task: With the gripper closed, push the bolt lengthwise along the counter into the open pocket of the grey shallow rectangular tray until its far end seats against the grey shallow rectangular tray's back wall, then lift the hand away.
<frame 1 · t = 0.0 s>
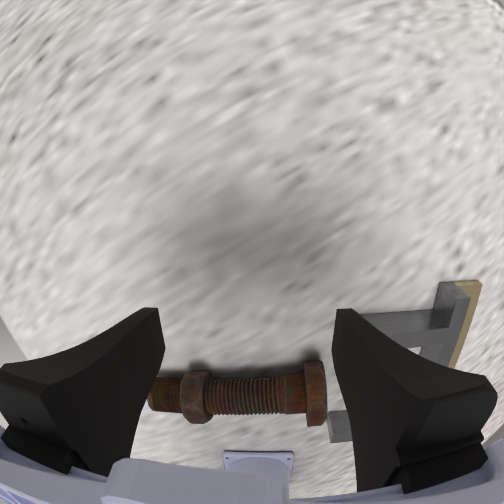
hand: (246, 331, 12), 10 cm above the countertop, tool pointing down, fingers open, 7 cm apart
grey shallow rectangular tray: (377, 372, 25), on the countertop
bolt: (235, 376, 26), on the countertop
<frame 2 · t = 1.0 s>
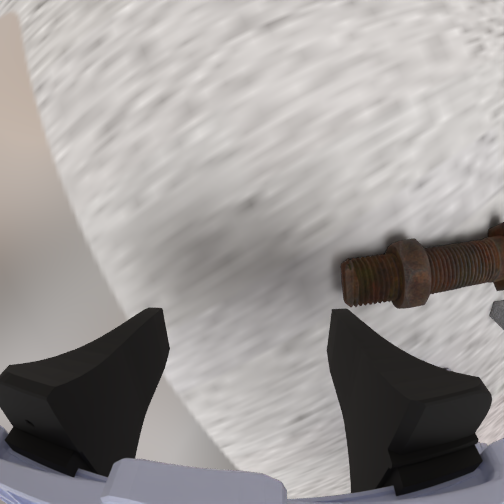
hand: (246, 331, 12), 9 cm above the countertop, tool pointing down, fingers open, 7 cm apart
bolt: (428, 254, 21), on the countertop
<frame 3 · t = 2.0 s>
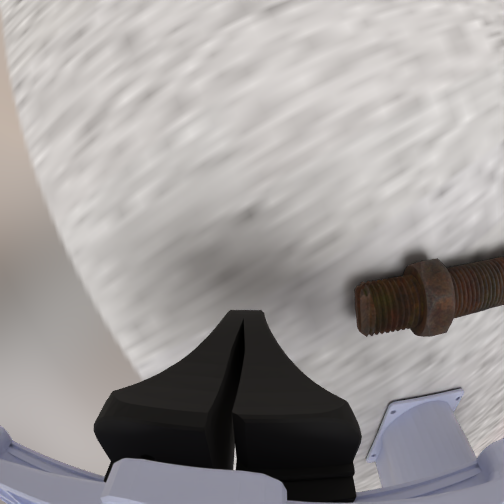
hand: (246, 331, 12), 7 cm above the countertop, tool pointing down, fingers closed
bolt: (448, 272, 18), on the countertop
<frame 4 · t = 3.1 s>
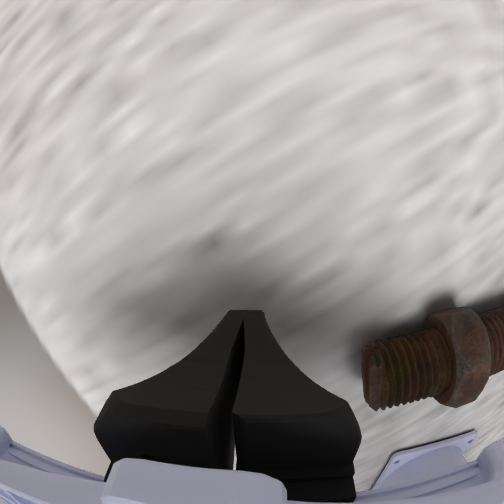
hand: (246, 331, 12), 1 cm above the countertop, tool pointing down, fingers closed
bolt: (477, 313, 13), on the countertop
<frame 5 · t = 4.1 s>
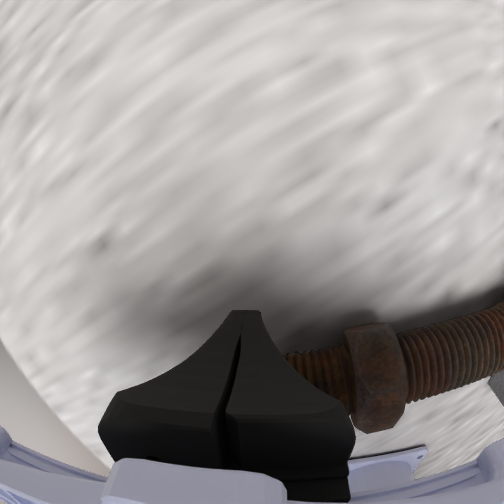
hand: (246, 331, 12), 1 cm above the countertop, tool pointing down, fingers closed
bolt: (414, 327, 13), on the countertop, touching gripper
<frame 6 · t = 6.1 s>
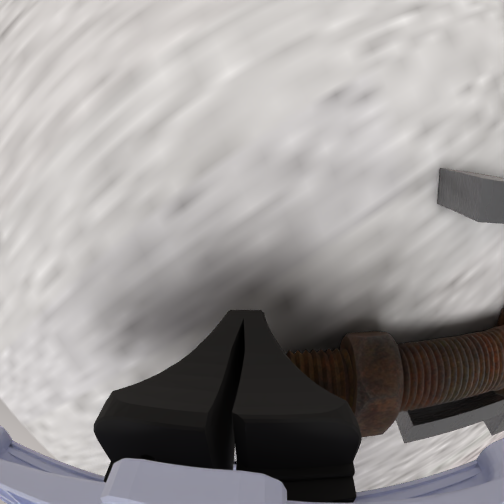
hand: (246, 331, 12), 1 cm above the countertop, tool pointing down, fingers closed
grey shallow rectangular tray: (480, 303, 13), on the countertop
bolt: (408, 341, 14), on the countertop, touching grey shallow rectangular tray
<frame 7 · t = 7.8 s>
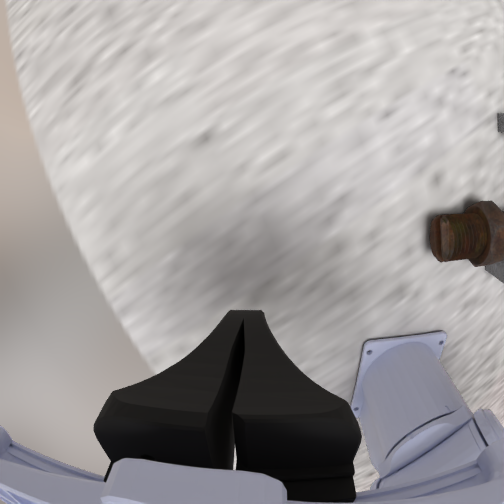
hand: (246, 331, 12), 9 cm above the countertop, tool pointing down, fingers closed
bolt: (492, 221, 20), on the countertop
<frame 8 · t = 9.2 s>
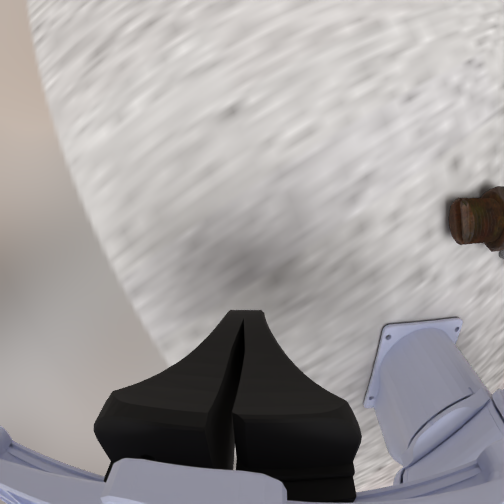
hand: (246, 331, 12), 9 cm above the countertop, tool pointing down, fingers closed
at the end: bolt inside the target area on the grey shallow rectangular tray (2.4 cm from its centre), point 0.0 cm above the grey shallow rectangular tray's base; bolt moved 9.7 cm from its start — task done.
